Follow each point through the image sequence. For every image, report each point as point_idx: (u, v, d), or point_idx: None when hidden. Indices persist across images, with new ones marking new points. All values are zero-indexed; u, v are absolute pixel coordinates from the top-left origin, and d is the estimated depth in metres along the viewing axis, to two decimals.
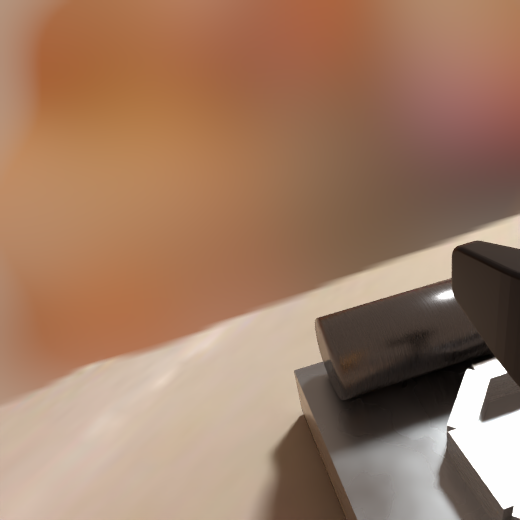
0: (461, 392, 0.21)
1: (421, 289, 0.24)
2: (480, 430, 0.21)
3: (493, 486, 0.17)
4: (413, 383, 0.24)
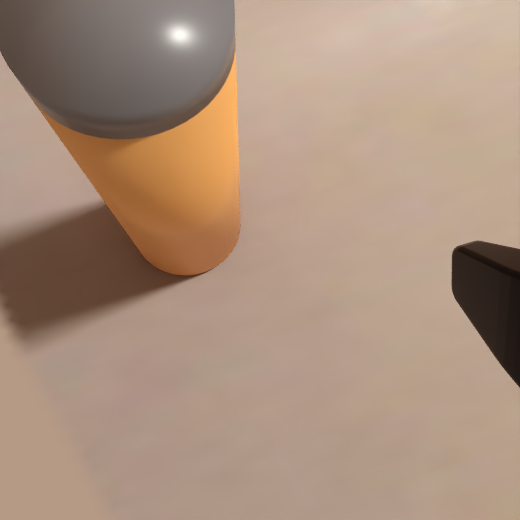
0: None
1: None
2: None
3: None
4: None
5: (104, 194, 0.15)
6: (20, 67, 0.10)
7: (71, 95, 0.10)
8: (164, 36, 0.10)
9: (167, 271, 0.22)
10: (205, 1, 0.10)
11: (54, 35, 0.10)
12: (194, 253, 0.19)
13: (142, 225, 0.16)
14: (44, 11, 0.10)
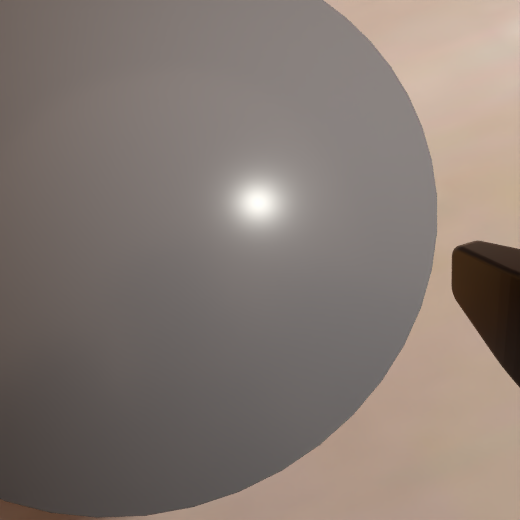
0: None
1: None
2: None
3: None
4: None
5: None
6: None
7: (13, 456, 0.03)
8: (263, 260, 0.04)
9: None
10: (359, 157, 0.04)
11: None
12: None
13: None
14: None
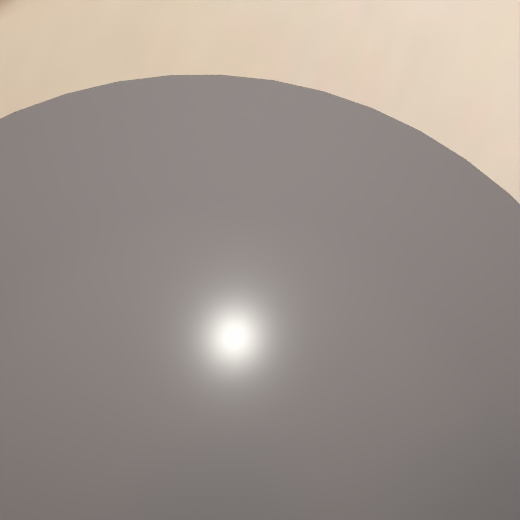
0: None
1: None
2: None
3: None
4: None
5: None
6: None
7: None
8: None
9: None
10: None
11: None
12: None
13: None
14: None
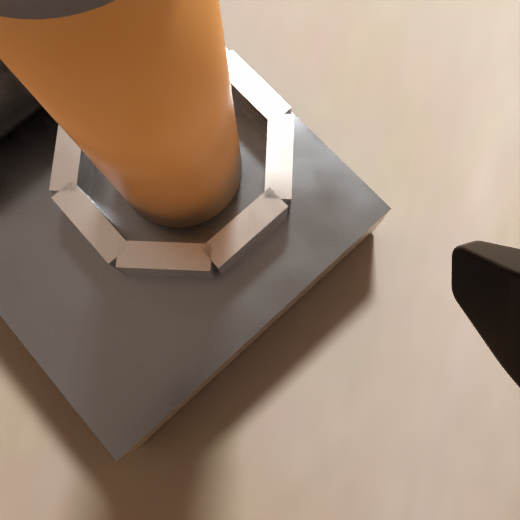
0: (58, 142, 0.19)
1: None
2: (94, 170, 0.20)
3: (98, 244, 0.18)
4: (20, 131, 0.20)
5: (62, 122, 0.12)
6: None
7: None
8: None
9: (162, 223, 0.19)
10: None
11: None
12: (188, 197, 0.16)
13: (117, 163, 0.13)
14: None
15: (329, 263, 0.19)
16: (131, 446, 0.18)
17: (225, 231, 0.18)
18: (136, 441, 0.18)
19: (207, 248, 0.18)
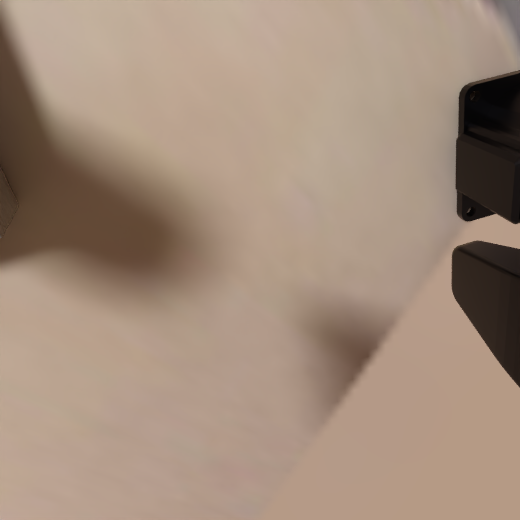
0: None
1: None
2: None
3: None
4: None
5: None
6: None
7: None
8: None
9: None
10: None
11: None
12: None
13: None
14: None
15: None
16: None
17: None
18: None
19: None
